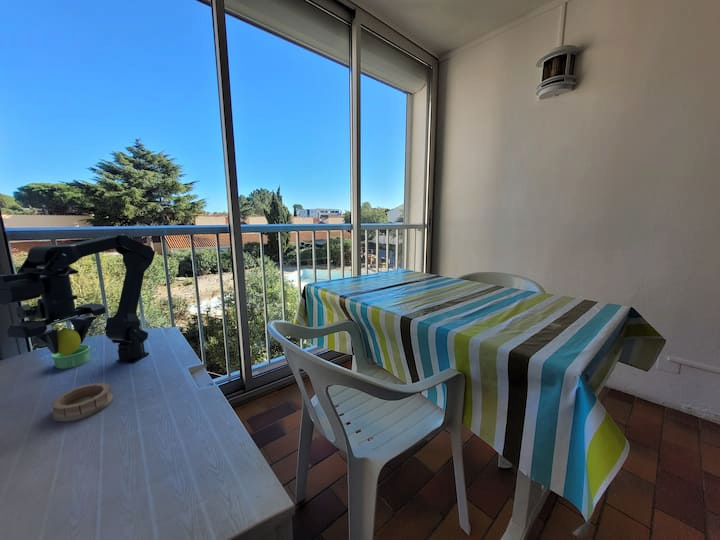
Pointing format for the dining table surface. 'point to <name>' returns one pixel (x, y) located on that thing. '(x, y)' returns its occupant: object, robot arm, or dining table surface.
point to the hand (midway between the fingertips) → (67, 348)
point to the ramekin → (72, 358)
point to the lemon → (68, 341)
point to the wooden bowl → (81, 402)
